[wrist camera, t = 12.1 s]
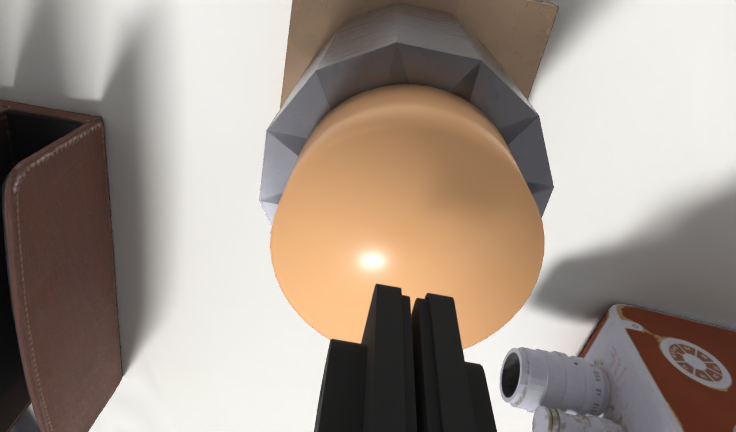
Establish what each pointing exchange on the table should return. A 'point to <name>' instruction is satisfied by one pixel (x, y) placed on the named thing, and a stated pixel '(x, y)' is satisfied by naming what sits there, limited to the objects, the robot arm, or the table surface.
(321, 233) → the cap
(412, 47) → the top hat
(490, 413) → the robot arm
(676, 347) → the cine camera
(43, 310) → the letter holder
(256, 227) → the table surface
